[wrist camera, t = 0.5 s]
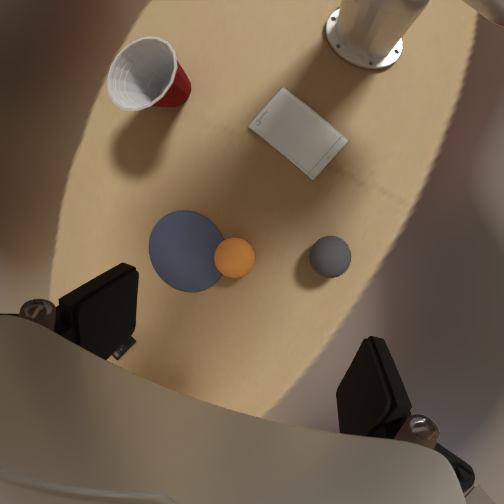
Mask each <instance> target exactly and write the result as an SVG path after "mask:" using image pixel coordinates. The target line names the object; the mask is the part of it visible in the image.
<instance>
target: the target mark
mask: <svg viewBox="0 0 504 504" xmlns="http://www.w3.org/2000/svg"><path fill="white" fill-rule="evenodd" d="M222 241H224V240H223V238H222V235H221V234H220V232H219V230H218V229H217V228H216V226H215V225H214V224H213V223H212V222H211V221H210V220H208V219H207V218H205V217H204V216H202V215H200V214H198V213H195V212H191V211H177V212H173V213H170V214H168V215H166V216H165V217H163V218H162V219H161V220H160V221H159V222H158V223H157V224H156V225H155V227H154V229H153V231H152V233H151V236H150V241H149V254H150V259H151V262H152V264H153V267H154V269H155V270H156V272H157V273H158V275H159V276H160V277H161V278H162V279H163V280H164V281H165V282H166V283H167V284H169V285H170V286H172V287H174V288H176V289H178V290H181V291H185V292H198V291H202V290H205V289H207V288H209V287H211V286H212V285H213V284H215V283H216V282H217V281H218V279H219V278H220V277H221V275H222V273H221V272H220V271H219V270H218V269H217V267H216V265H215V261H214V254H215V251H216V248H217V247H218V245H219V244H220V243H221V242H222Z"/></svg>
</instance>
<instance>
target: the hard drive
mask: <svg viewBox="0 0 504 504" xmlns="http://www.w3.org/2000/svg"><path fill="white" fill-rule="evenodd" d="M248 127H249V128H250V129H252V130H253V131H254V132H255V133H257V134H258V135H259V136H261V137H262V138H263V139H264V140H266V141H267V142H268V143H269V144H270V145H272V146H273V147H274V148H275V149H277V150H278V151H279V152H280V153H281V154H283V155H284V156H285V157H286V158H287V159H289V160H290V161H291V162H292V163H293V164H295V165H296V166H297V167H298V168H299V169H300V170H302V171H303V172H304V173H305V174H306V175H307V176H308V177H310V178H311V179H312V180H314V179H315V178H316V177H317V175H318V174H319V173H320V172H321V171H322V170H323V169H324V168H325V167H326V165H327V164H328V163H329V162H330V161H331V160H332V159H333V158H334V156H335V155H336V154H337V153H338V152H339V151H340V150H341V149H342V147H343V146H344V145H345V144H346V143H347V142H348V141H349V140H348V139H347V138H345V137H344V136H343V135H342V134H341V133H340V132H339V131H338V130H336V129H335V128H334V127H333V126H332V125H331V124H329V123H328V122H327V121H326V120H325V119H324V118H322V117H321V116H320V115H319V114H317V113H316V112H315V111H314V110H313V109H311V108H310V107H309V106H308V105H306V104H305V103H304V102H302V101H301V100H300V99H299V98H297V97H296V96H295V95H293V94H292V93H291V92H289V91H288V90H287V89H285V88H284V87H283V88H282V89H281V90H280V91H279V92H278V93H277V94H276V95H275V96H274V97H273V98H272V100H271V101H270V102H269V103H268V104H267V105H266V106H265V107H264V108H263V110H262V111H261V112H260V113H259V114H258V115H257V116H256V118H255V119H254V120H253V121H252V122H251V123H250V125H249V126H248Z"/></svg>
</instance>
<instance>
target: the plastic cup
mask: <svg viewBox="0 0 504 504" xmlns="http://www.w3.org/2000/svg"><path fill="white" fill-rule="evenodd" d="M107 88H108V94H109V96H110V98H111V100H112V102H113V103H114V104H115V105H116V106H118V107H119V108H121V109H122V110H127V111H138V110H142V109H145V108H148V107H151V106H157V107H165V106H167V107H173V106H177V105H180V104H182V103H183V102H185V101H186V99H187V98H188V97H189V95H190V92H191V83H190V81H189V79H188V77H187V75H186V74H185V72H184V70H183V69H182V67H181V66H180V64H179V62H178V61H177V56H176V52H175V51H174V49H173V48H172V46H171V45H170V43H169V42H167V41H165V40H163V39H161V38H159V37H143V38H141V39H138V40H136V41H133V42H131V43H130V44H129V45H127V46H126V47H125V48H124V49H123V50H122V51H120V52H119V54H118V55H117V57H116V58H115V60H114V61H113V63H112V64H111V67H110V70H109V74H108V77H107Z"/></svg>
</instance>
